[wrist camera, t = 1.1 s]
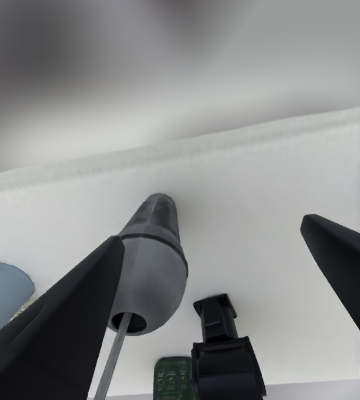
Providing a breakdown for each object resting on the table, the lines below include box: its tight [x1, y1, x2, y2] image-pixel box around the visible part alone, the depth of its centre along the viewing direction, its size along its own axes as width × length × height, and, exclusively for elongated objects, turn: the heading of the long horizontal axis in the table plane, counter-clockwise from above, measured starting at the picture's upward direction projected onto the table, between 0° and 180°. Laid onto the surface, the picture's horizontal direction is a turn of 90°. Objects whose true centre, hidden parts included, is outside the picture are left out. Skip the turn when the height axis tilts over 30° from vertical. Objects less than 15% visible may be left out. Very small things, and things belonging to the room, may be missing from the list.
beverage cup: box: [94, 194, 188, 400], centre depth 15 cm, size 7×7×20 cm
